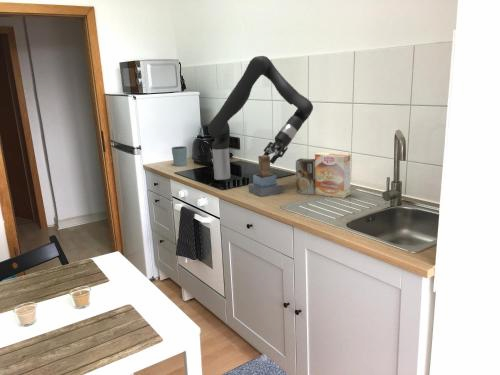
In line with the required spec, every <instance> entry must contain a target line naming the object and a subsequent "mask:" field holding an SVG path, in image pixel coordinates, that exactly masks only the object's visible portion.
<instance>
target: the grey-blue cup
mask: <svg viewBox="0 0 500 375" xmlns="http://www.w3.org/2000/svg"><path fill="white" fill-rule="evenodd" d="M171 154H172V162H173V166H174V167H185V166H187V164H188V162H187V161H188V160H187V157H188V155H187V154H188V147H187V146H185V145H183V146H182V145H180V146H172V147H171Z"/></svg>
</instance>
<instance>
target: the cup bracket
mask: <svg viewBox="0 0 500 375" xmlns="http://www.w3.org/2000/svg"><path fill="white" fill-rule="evenodd" d="M252 177H253V178H252V180H253V182H252V183H248V185H247V186H248V193H251V194H253V195H256V196H257V197H259V198H262V197H269V196H272V195H273V196H274V195H277V194H282V193H283V185H282V184H280V183H277V175H275V174H272V173H270V177H264V178H261V177H259V173H258V174H253V175H252Z"/></svg>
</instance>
